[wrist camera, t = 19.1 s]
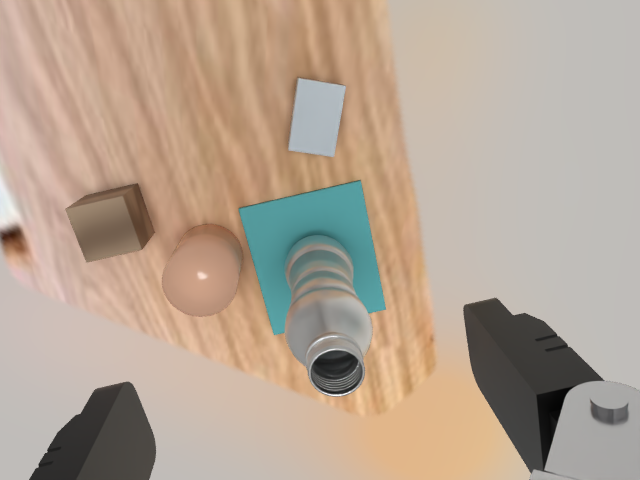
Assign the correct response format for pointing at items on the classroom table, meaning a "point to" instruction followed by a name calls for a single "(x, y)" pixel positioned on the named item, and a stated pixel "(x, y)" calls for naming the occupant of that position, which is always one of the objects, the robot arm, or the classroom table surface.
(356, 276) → the teal mat
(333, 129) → the slate grey box
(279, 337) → the classroom table surface
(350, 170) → the classroom table surface
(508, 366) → the robot arm
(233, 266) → the beige domed cylinder
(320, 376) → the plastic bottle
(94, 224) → the walnut block
